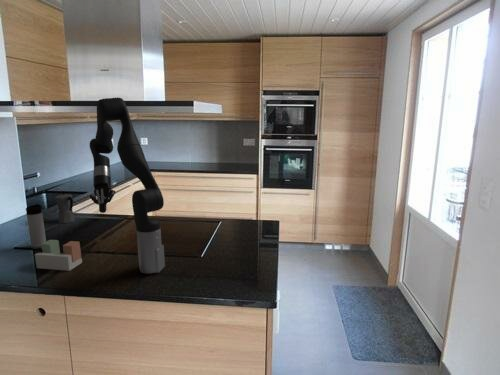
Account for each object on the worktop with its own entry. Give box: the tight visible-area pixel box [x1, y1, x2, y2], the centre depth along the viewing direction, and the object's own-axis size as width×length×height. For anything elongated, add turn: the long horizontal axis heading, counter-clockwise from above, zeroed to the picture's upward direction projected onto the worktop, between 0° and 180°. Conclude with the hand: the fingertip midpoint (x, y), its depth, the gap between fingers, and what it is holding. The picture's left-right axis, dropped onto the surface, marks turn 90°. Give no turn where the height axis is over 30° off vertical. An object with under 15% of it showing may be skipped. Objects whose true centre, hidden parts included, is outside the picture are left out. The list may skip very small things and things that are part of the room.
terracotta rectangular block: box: [62, 240, 82, 262], centre depth 143 cm, size 4×5×7 cm
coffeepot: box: [54, 191, 76, 224], centre depth 199 cm, size 15×9×18 cm, turn 55°
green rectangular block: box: [41, 239, 61, 254], centre depth 144 cm, size 4×5×7 cm
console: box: [34, 252, 83, 272], centre depth 142 cm, size 15×8×6 cm, turn 80°
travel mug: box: [25, 203, 47, 250], centre depth 161 cm, size 6×7×20 cm
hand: (102, 212), depth 155 cm, fingers closed
